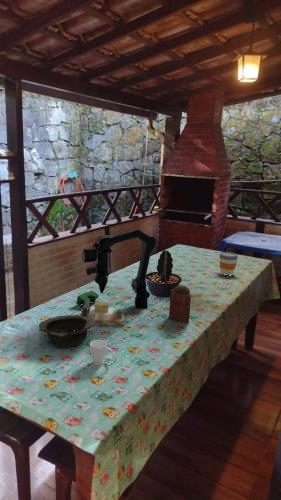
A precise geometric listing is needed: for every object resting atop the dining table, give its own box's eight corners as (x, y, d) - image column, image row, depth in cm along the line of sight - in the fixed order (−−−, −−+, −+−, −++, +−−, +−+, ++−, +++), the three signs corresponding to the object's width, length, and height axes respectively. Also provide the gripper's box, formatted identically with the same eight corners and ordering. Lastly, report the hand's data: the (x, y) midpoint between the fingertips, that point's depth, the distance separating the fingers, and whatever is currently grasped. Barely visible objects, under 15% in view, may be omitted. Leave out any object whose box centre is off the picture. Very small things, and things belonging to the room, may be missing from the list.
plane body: (124, 319, 183) (124, 308, 181) (124, 325, 176) (124, 314, 175) (80, 318, 182) (80, 306, 181) (78, 324, 175) (78, 312, 174)
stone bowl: (70, 358, 145) (68, 336, 143) (27, 344, 159) (24, 324, 157) (107, 334, 166) (106, 314, 164) (66, 323, 179) (65, 305, 177)
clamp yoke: (89, 316, 184) (89, 299, 182) (86, 325, 174) (86, 308, 171) (85, 316, 184) (85, 299, 182) (83, 325, 174) (83, 308, 171)
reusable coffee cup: (238, 273, 265) (240, 253, 261) (232, 278, 255) (234, 257, 251) (221, 270, 272) (223, 251, 268) (215, 274, 261) (217, 254, 258)
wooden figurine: (192, 319, 186) (195, 286, 182) (187, 324, 181) (190, 289, 176) (171, 314, 192) (173, 281, 187) (166, 318, 186) (168, 284, 182)
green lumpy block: (85, 314, 198) (83, 303, 192) (77, 308, 200) (75, 297, 194) (100, 301, 205) (99, 289, 199) (92, 296, 207) (91, 284, 201)
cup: (94, 356, 148) (94, 337, 146) (117, 361, 145) (117, 343, 143) (86, 364, 142) (86, 345, 140) (109, 370, 138) (109, 351, 137)
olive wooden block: (108, 309, 193) (108, 302, 192) (108, 312, 189) (108, 305, 188) (95, 308, 192) (95, 301, 191) (94, 312, 189) (94, 304, 188)
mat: (113, 308, 195) (113, 307, 195) (112, 315, 187) (112, 314, 186) (91, 308, 195) (91, 307, 195) (89, 315, 186) (89, 313, 186)
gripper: (88, 255, 193) (88, 283, 197) (84, 265, 175) (84, 296, 179) (109, 256, 194) (109, 284, 197) (107, 266, 175) (107, 296, 179)
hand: (102, 290), depth 188 cm, fingers open, 9 cm apart
